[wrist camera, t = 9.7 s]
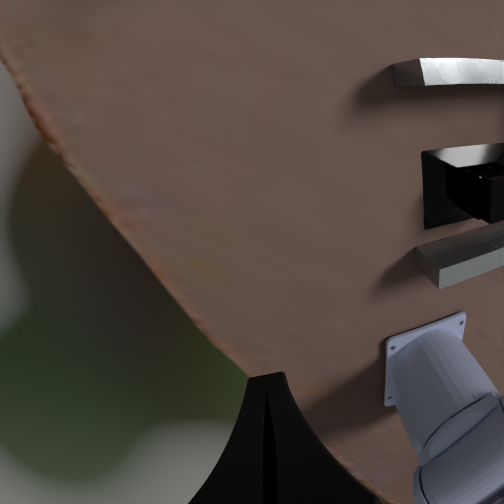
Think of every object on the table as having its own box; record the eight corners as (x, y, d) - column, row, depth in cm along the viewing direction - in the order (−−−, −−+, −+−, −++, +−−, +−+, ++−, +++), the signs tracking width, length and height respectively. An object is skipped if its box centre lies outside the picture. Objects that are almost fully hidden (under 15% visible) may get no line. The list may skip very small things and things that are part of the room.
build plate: (403, 239, 22) (434, 269, 17) (395, 137, 19) (432, 147, 14) (518, 211, 21) (552, 231, 16) (518, 127, 18) (558, 137, 13)
